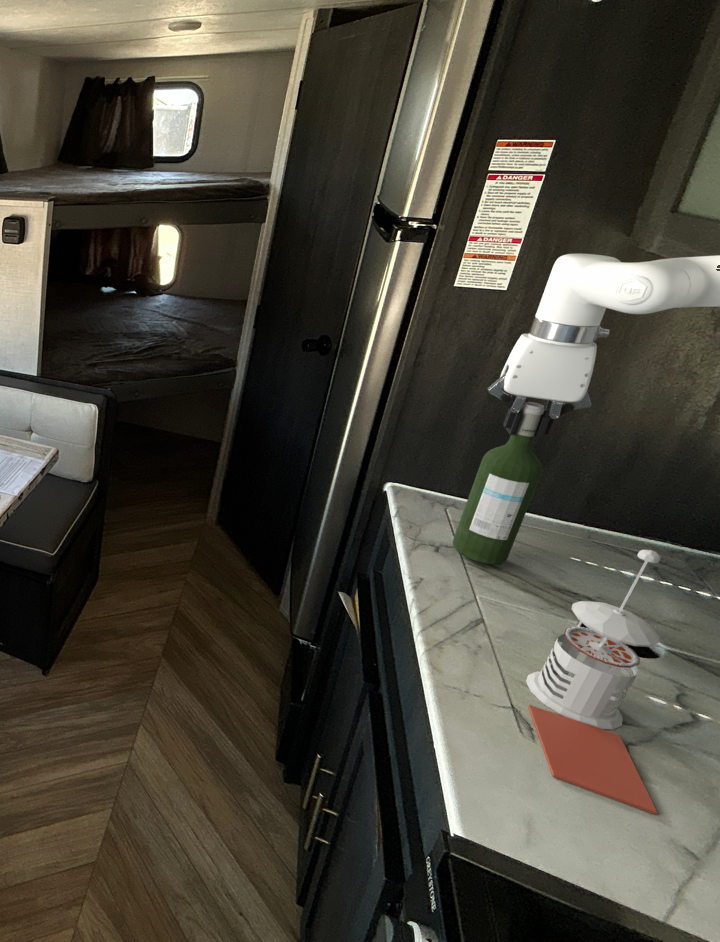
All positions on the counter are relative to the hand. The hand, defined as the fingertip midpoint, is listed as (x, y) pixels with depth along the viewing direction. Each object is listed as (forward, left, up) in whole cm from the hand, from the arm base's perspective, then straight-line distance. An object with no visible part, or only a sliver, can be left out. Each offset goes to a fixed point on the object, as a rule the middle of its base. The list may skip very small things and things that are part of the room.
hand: (523, 433), depth 109 cm
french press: (-6, +34, -26) cm, 43 cm away
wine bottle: (0, 0, -25) cm, 25 cm away
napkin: (-5, +46, -25) cm, 53 cm away
